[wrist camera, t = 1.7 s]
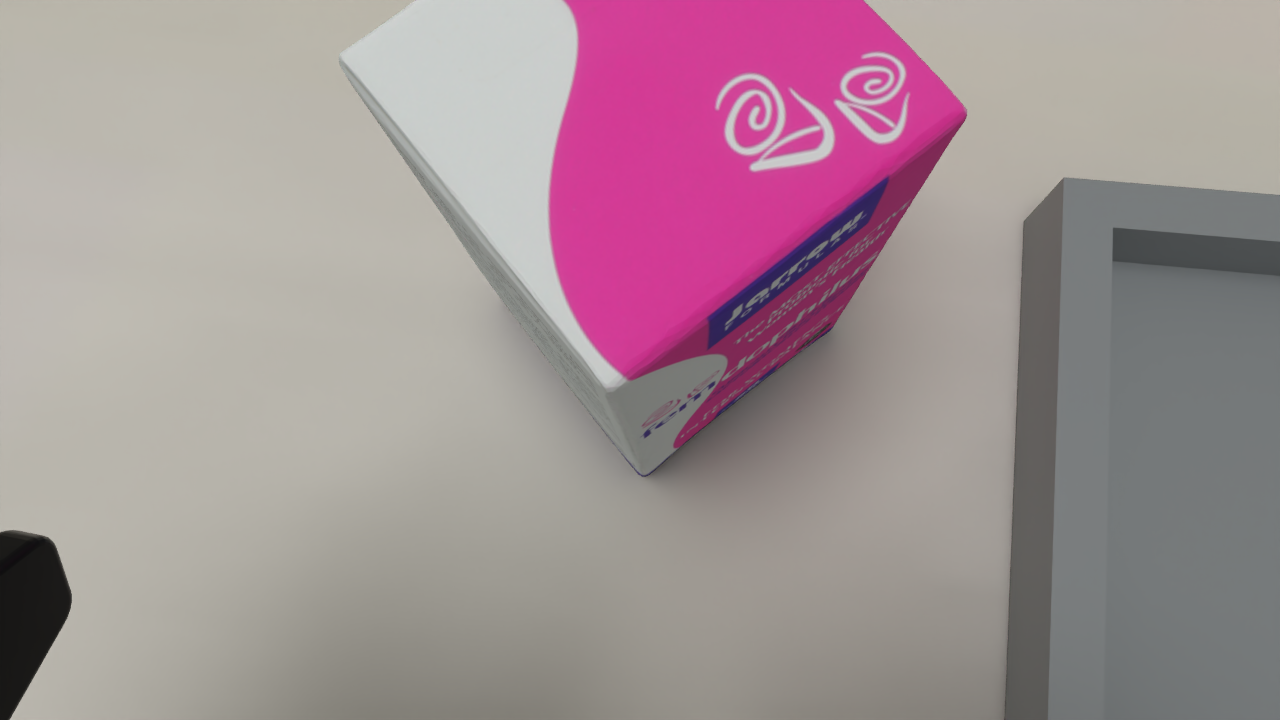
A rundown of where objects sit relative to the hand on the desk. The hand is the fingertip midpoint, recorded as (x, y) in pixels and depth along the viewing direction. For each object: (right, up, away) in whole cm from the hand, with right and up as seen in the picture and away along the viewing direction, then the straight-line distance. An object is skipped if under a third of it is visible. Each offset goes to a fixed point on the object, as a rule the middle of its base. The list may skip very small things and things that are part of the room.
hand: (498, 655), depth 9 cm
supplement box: (+2, +4, +14) cm, 15 cm away
